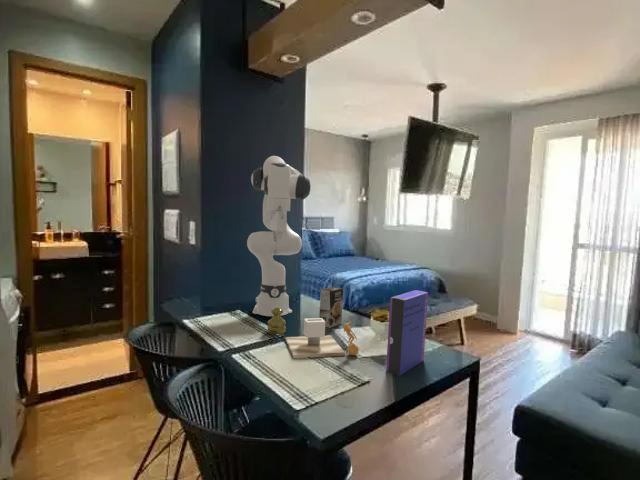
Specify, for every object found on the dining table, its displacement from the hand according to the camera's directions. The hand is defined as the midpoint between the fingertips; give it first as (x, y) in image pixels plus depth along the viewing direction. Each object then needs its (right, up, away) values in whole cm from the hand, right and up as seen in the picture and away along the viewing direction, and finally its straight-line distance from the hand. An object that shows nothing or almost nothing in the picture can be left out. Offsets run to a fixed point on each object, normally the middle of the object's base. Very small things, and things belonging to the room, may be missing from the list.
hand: (277, 242), depth 145 cm
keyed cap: (+14, -34, -6) cm, 37 cm away
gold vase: (-2, -37, +10) cm, 38 cm away
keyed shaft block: (+14, -38, -5) cm, 41 cm away
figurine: (+27, -39, -11) cm, 49 cm away
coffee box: (+21, -36, +24) cm, 48 cm away
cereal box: (+44, -41, -19) cm, 63 cm away
